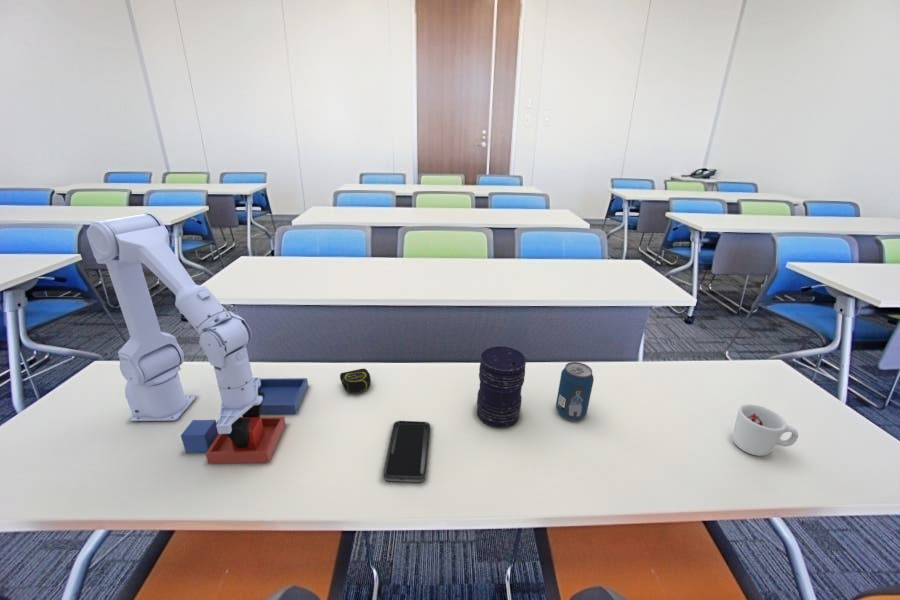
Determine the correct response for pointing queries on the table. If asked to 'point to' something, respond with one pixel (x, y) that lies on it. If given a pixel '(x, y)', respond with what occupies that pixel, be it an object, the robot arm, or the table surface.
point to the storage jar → (500, 386)
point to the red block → (253, 433)
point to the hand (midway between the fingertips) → (248, 436)
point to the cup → (760, 430)
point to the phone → (407, 452)
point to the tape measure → (355, 380)
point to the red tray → (225, 454)
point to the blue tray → (282, 395)
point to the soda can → (574, 391)
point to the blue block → (199, 436)
